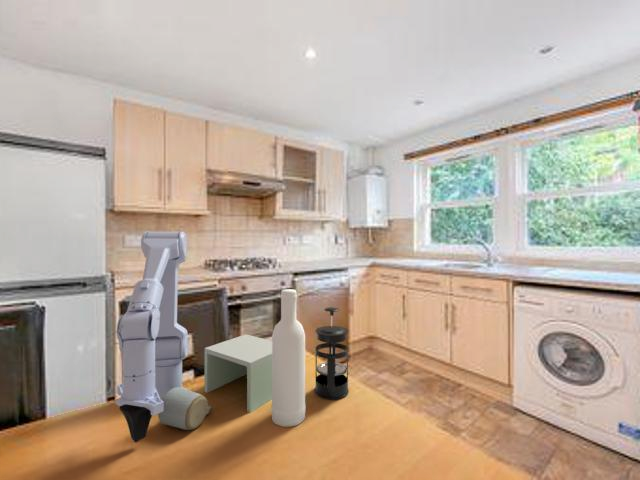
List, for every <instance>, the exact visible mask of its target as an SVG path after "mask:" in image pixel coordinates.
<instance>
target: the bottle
mask: <svg viewBox="0 0 640 480" xmlns="http://www.w3.org/2000/svg"><path fill="white" fill-rule="evenodd" d="M280 293H281V294H280V296H279V297H280V320H279V322H278V323H276V324H275V325H274V328H273V331H272V335H271V338H272V339H271V341H272V399H271V419H272V422H273V423H274V425H275V424H276V425H277V426H279V427H284V428H290V427H295V426H299V425H300V424H301V423H302V422H304V420H305V418H306V409H307V408H306V332H305V330H304V327H303V324H302V323H301V322H300V321H299V320H298V319H297V299H298V294H297V290H296V289H293V288H289V289H281V290H280Z"/></svg>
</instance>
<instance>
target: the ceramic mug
mask: <svg viewBox="0 0 640 480" xmlns="http://www.w3.org/2000/svg"><path fill="white" fill-rule="evenodd" d="M186 389H187V388H186ZM186 389H183V388H180V387H175V388H173V389H171V390H170V391H169V392H168V393H167V394H166V395H165V396H164V398H163V399H162V401H163V412H161V413H159V414H157V416H158V419H159V422H160V423H161V424H163V425H167V426H170V427H172V428H178V429H181V430H185V431H194V430H195V429H197V428H198V427H199V426H201V424H202V423H203V421H204V420H205V417H206V415H208V414H209V413H210V410H211V405H209V402H208V399H207V397H205V396H204V395H202V394H201V393H198V392H195V391H193V390H192V391H191V390H190V389H188V390H186Z"/></svg>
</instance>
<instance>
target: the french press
mask: <svg viewBox="0 0 640 480" xmlns="http://www.w3.org/2000/svg"><path fill="white" fill-rule="evenodd" d="M323 311H326V312H329V313H330V314H329V316H331V317H330V319H331V320H330V325H326V326H325V325H324V326H320V327H317V328H316V329H315V333H316V336H317V337H316V338H317V340H318V341H319V342H322V343H320V344H317V345H316V346H315V387H314V393H315V396H317V397H318V398H321V399H322V400H323V399H324V400H329V401H334V400H335V401H336V400H341V399H343V398H346V397H347V396H348V395H349V392H350V391H349V390H350V389H349V347H348V346H347V345H345V344H343V343H342V342H345V341H346V340H347V334H348V333H349V330H348V329H347V328H346V327H343V326H338V325H337V326H336V325H333V318H334V317H333V316H335V315H334V312H335V313H336V312H339V311H340V308H338V307H332V306H331V307H325V308H324V309H323ZM326 348H329V349H328V352H322V351H320V350H322V349H326ZM336 348H338V349H341V350H344V351H343V352H339V353H336ZM318 357H319V358H322V359H327V362H323V363H320V364H318ZM345 357H346V365H345V364H343V363H339V362H336V360H337V359H343V358H345ZM317 374H318V375H317ZM345 374H346V375H345Z"/></svg>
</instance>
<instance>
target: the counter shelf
mask: <svg viewBox="0 0 640 480" xmlns="http://www.w3.org/2000/svg"><path fill="white" fill-rule="evenodd" d="M244 376H247V378H246V387H247V388H246V391H247V392H246V394H247V395H246V407H247V408H246V411H247V412H248V413H252V412H254V411H255V410H257V409H258V408H260V407H262V406H263V405H265V404H266V403H268V402H270V401H272V339H271V340H270V339H266V338H262V337H259V336H254V335H251V334H242V335H240V336H237V337H233V338H230V339H228V340H224V341H221V342H219V343H216V344H213V345H209V346H206V347H205V348H204V376H203V377H204V381H203V382H204V390H203V391H204V393H206V394H208V393H210V392H212V391H214V390H217V389H218V388H220V387H223V386H224V385H227V384H229V383H231V382H233V381H235V380H237V379H239V378H241V377H244Z"/></svg>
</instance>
